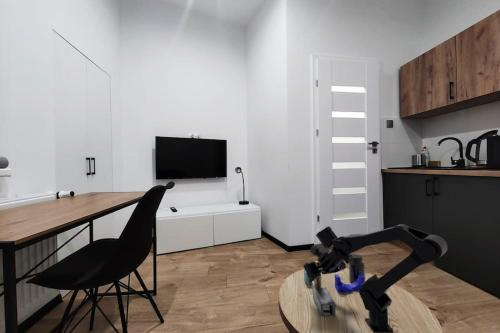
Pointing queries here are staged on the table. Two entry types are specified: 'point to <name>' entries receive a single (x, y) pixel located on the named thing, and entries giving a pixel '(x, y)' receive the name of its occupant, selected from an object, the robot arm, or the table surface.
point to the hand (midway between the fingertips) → (315, 275)
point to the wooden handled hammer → (319, 284)
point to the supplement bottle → (356, 267)
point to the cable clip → (348, 287)
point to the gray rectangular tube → (324, 301)
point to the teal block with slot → (307, 278)
